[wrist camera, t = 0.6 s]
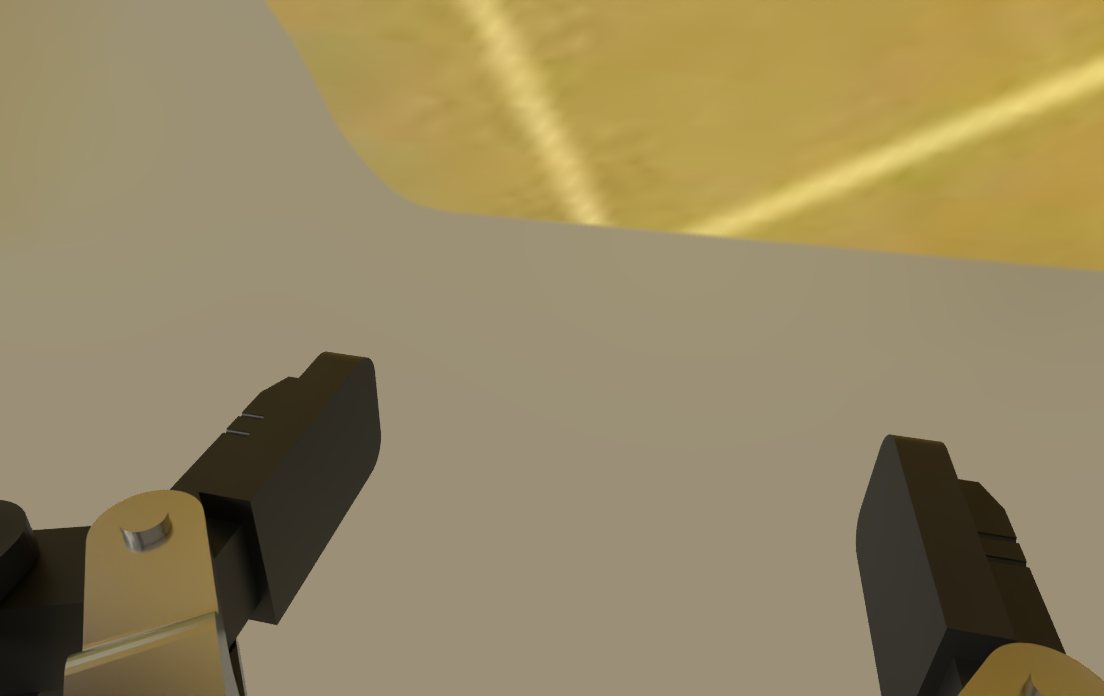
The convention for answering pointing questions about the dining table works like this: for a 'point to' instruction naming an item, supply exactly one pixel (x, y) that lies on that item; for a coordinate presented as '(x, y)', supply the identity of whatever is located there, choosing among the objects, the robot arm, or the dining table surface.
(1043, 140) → the dining table surface
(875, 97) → the dining table surface
